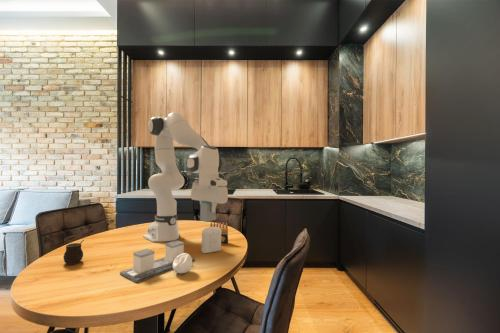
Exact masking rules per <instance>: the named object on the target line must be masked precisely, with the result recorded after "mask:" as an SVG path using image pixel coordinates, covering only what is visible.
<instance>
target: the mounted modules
mask: <svg viewBox="0 0 500 333" xmlns="http://www.w3.org/2000/svg"><path fill="white" fill-rule="evenodd" d="M184 245H185V243H184V242H183V241H180V240H172V241H169V242H167V243H165V256H164V257H165V259H166V260H169V261H174V260H175V259H176V257H177V256H178V255H180V254H183V253H185V252H184V251H185V250H184V249H185V247H184ZM132 254H133V263H132V264H133V267H132V268H133V270H134V271H136V272H138V273H142V272H144V271H147V270H150V269H153V268H154V261H155V250H152V249H150V248H145V249H141V250H138V251H134V252H133V253H132Z"/></svg>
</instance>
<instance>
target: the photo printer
mask: <svg viewBox="0 0 500 333" xmlns="http://www.w3.org/2000/svg"><path fill="white" fill-rule="evenodd" d="M221 228H222V227H221ZM221 228H219V226H218V227H216V226H215V227H213V226H212V227H206V228H204V229H202V231H201V253H202V254H209V253H214V252H221V251H222V243H221Z"/></svg>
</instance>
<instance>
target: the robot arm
mask: <svg viewBox="0 0 500 333" xmlns="http://www.w3.org/2000/svg"><path fill="white" fill-rule="evenodd" d="M147 128H148V132H149V134H151V135H153V136H155V137H154V157H155V164H156V165H157V166H158V167H159V169H160V170H161V172H159V173H155V174H153V175H151V176H150V177H149V178H148V181H147V184H148V188H149V190H150V191H152V192H153V194H154V195H155V196H154V197H155V200H156V214H155V215H154V218H155V219H154V221H153V222H152V223H151V224H150V225H149V226H148V227H147V233H145V234H143V235H142V237H143V238H144V239H147V240H148V241H150V242H152V243H157V242H159V243H160V242H161V243H162V242H173V241H177V240H178V239H180V236H181V234H180V233H179V224H178V223H179V222H178V214H177V209H178V208H177V205H178V202H177V200H176V199H175V198H174V195H173V192H174V191H178V190H179V189H181V188H182V187H183V186H184V185H185V178H184V176H183V175H182V174H181V173H180V171H179V168H178V165H177V162H176V154H175V144H174V141H175V142H176V143H177V144H179V145H183V146H187V147H191V148H192V149H193V148H194V149H195V150H197V151H195V152H194V153H190V154H189V155H188V156H187V158H186V162H185V163H186V164H185V165H186V168H187V170H188V172H190V173H192V174H198V180H197V179H195V180H194V181H193V182H192V185H191V190H190V191H191V192H190V198H191V200H193V201H199V204H200V203H202V202H212V205H213V206H212V208H210V212H212V213H213V212H215V208H216V209H217V205H218V204H220V205H221V204H227V202H228V199H229V198H228V195H229V192H228V191H229V190H228V187H227V186H228V181H227V180H225V179H223V178H221V177H219V175H220V173H219V172H221V171H222V169H223V166H224V161H223V158H222V157H221V155H220V154H219V149H218V148H217V147H216V146H213V145H209V143H208V142H207V141H206V140H205V139H204V137H202V136H201V135H200V134H199V132H197V131H195V129H193V128H192V126H191V125H190V124H189V122H188V120H187V119H186V118H185V117H184V116H183V114H181V113H180V112H176V111H174V112H171V113H169V114H167V116H153V117H151V118H150V119H148V124H147ZM172 191H173V192H172Z"/></svg>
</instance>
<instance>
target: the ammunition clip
mask: <svg viewBox="0 0 500 333" xmlns="http://www.w3.org/2000/svg"><path fill="white" fill-rule="evenodd" d="M210 227H218V228H221V245H222V244H225V245H228V243H229V229H228V222H227V221H226V222H224V221H223V222H221V221H219V222H218V221H216V222H215V221H213V220H212V221H210Z"/></svg>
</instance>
